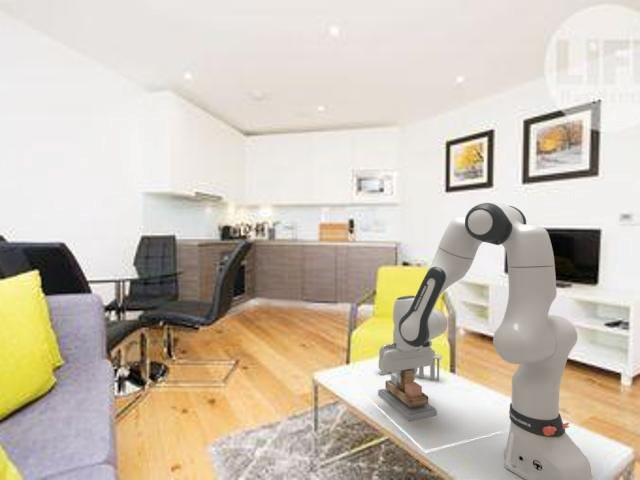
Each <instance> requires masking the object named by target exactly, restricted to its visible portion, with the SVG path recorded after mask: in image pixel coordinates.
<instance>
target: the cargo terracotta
mask: <svg viewBox="0 0 640 480" xmlns="http://www.w3.org/2000/svg"><path fill="white" fill-rule="evenodd" d="M422 392H423V386H422V385H421V384H419V383H417V382H416V381H414V382H411V383H406V384H405V394H406V395H407V396H408V397H410V398H416V397H421V396H422Z"/></svg>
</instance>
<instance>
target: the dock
mask: <svg viewBox="0 0 640 480" xmlns="http://www.w3.org/2000/svg"><path fill="white" fill-rule="evenodd" d="M377 393H378V396H379V397H380V398H381V399H382V400H383V401H385V403H386V404H388V405H389V406H390V407H391V408H393V410H394V411H396V412H397V413H398V414H399V415H401V417H403V418H404V419H405V420H406V421H407V422H411V421H416V420H422V419H425V418H429V417H434V416H437V415H438V409H436V408H435V407H434V406H433V405H431V404H430V403H428V404H425V405H420V406H415V407H409V406H408V405H407V404H405V403H404V402H403V401H402V400H400V399H399V398H398V397H397V396H395V395H394V394H393V393H392V392H390V391H389V390H388V389H387V388H386V387H385V388H380V389H378V390H377Z"/></svg>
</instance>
